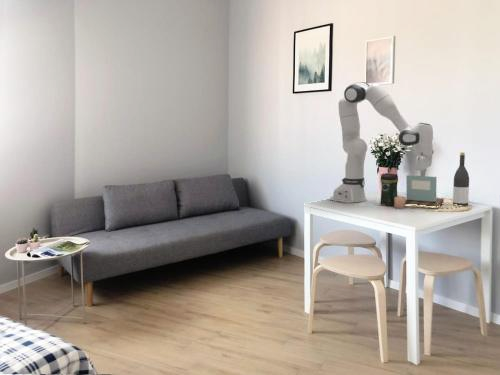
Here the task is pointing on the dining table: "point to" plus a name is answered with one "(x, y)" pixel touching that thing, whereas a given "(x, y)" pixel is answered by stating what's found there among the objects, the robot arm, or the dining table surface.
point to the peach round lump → (399, 202)
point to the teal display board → (421, 188)
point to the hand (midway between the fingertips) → (423, 176)
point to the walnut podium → (426, 202)
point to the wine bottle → (461, 184)
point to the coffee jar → (388, 188)
